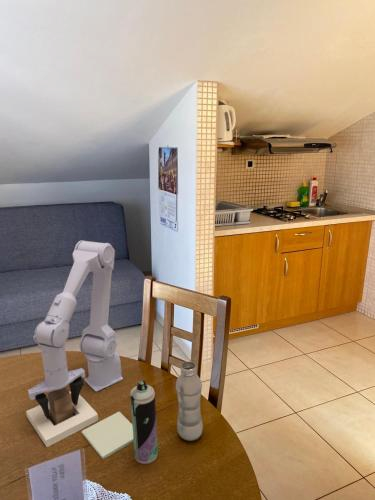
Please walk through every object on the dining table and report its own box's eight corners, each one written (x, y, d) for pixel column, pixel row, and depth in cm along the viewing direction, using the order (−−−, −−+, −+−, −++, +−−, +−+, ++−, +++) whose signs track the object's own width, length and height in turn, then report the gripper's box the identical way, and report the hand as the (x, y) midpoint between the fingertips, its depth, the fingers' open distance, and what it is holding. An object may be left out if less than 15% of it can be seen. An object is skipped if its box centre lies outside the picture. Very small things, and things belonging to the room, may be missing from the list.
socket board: (75, 395, 114) (74, 389, 114) (98, 420, 104) (97, 414, 103) (27, 417, 106) (26, 411, 105) (46, 447, 95) (45, 440, 95)
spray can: (148, 467, 89) (143, 393, 83) (129, 457, 92) (124, 385, 86) (162, 451, 93) (159, 379, 88) (144, 442, 96) (139, 372, 90)
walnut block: (67, 410, 108) (63, 386, 106) (74, 419, 105) (70, 394, 102) (51, 418, 105) (47, 393, 103) (57, 427, 102) (54, 401, 99)
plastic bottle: (184, 448, 94) (182, 377, 88) (172, 430, 100) (170, 362, 94) (207, 438, 97) (207, 369, 91) (194, 421, 103) (193, 355, 97)
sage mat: (119, 413, 106) (119, 411, 106) (142, 436, 98) (141, 433, 98) (81, 433, 100) (81, 431, 99) (102, 459, 91) (102, 456, 91)
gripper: (75, 349, 107) (80, 391, 111) (21, 369, 99) (28, 414, 102) (86, 359, 102) (91, 403, 106) (31, 382, 93) (38, 429, 97)
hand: (61, 409), depth 104 cm, fingers open, 7 cm apart
